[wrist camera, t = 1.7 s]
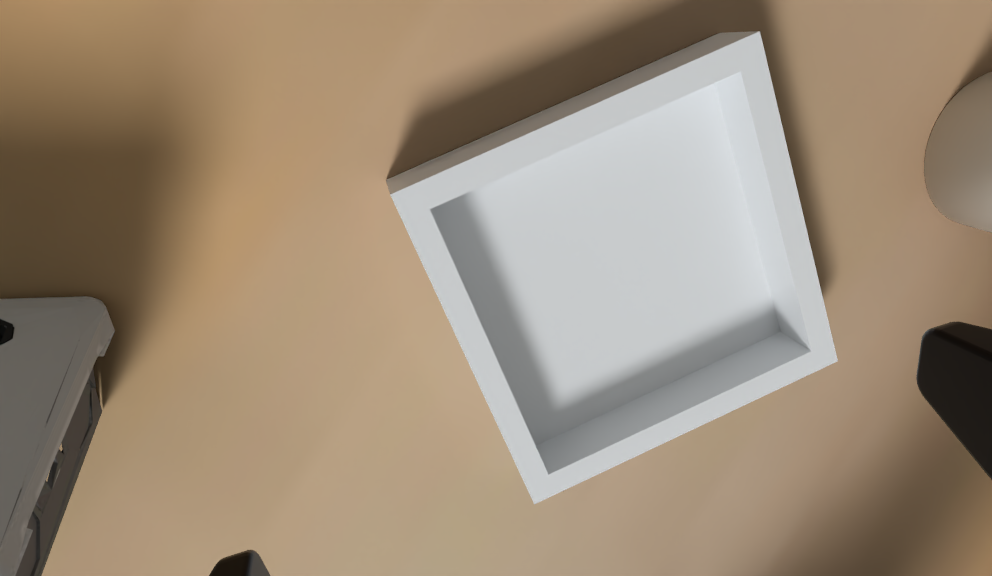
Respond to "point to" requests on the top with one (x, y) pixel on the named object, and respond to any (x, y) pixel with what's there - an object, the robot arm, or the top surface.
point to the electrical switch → (44, 417)
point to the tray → (625, 261)
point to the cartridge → (963, 157)
